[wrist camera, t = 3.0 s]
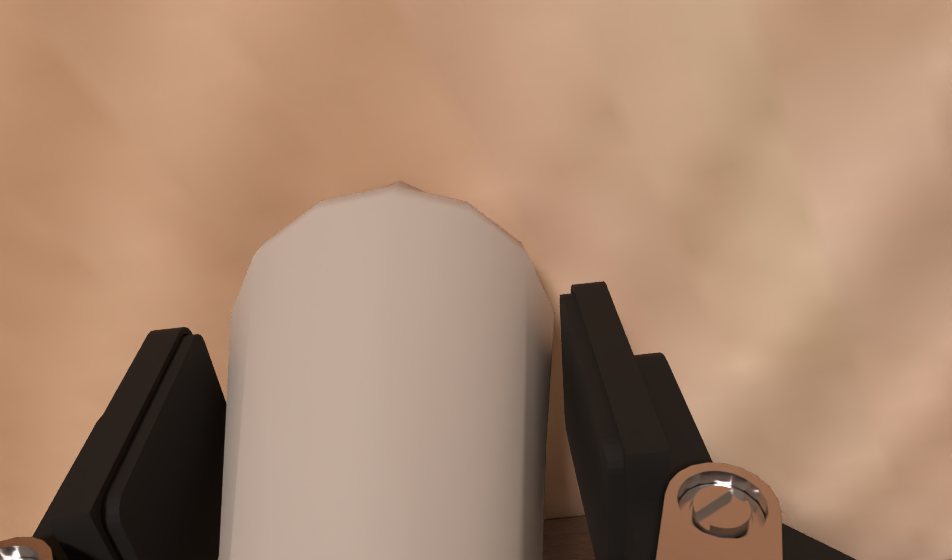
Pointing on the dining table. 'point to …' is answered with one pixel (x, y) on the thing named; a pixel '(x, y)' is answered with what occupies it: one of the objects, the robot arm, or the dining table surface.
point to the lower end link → (567, 539)
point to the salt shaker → (387, 388)
